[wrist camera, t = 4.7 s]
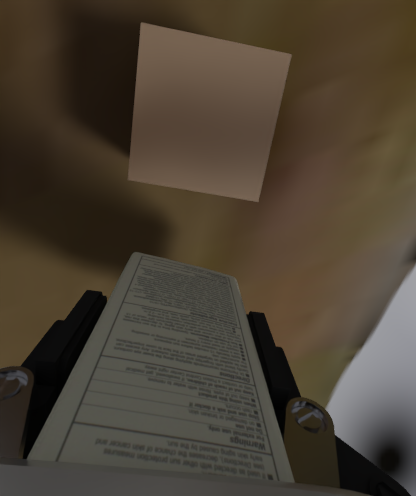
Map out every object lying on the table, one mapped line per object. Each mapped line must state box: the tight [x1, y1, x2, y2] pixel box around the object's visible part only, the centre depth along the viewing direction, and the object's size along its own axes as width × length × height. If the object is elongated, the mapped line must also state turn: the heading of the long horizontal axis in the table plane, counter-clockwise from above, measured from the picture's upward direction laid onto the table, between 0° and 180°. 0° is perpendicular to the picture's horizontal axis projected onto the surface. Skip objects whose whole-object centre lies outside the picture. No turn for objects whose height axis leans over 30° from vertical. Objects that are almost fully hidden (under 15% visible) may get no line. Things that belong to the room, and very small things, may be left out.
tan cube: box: [128, 22, 292, 202], centre depth 13 cm, size 5×5×5 cm
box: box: [27, 252, 295, 483], centre depth 9 cm, size 5×4×11 cm
